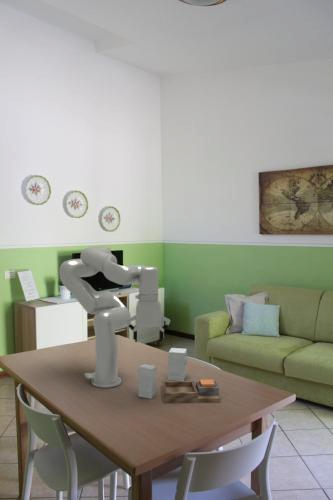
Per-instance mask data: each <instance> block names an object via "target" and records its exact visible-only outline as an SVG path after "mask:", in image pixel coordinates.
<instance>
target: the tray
mask: <svg viewBox="0 0 333 500" xmlns="http://www.w3.org/2000/svg"><path fill="white" fill-rule="evenodd" d="M213 382H214V384H215V387H201V386H200V380H195V381H194V380H184V381H174V380H165V381H164V380H162V382H161V383H162V385H160V390H161V397H162V403H163V404H180V403H181V404H182V403H185V404H187V403H189V404H191V403H193V404H194V403H195V404H196V403H197V404H199V403H200V404H201V403H221V397H220V387H219V385H218V384H217V382H216V380H213Z"/></svg>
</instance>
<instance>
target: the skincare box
mask: <svg viewBox="0 0 333 500" xmlns="http://www.w3.org/2000/svg"><path fill="white" fill-rule="evenodd" d="M137 381H138V389H137V390H138V393H137V394H138V397H140V398H144V399H151V400H152V399H154V398H155V397H156V396H157V366H156V365H150V364H145V363H144V364H142V365H140V366H138V379H137Z"/></svg>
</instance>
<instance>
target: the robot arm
mask: <svg viewBox="0 0 333 500" xmlns="http://www.w3.org/2000/svg"><path fill="white" fill-rule="evenodd" d="M99 272H101V273H102V274H103V275H104V277H105V278H106V279H107V280H108V281H110V282H113V283H115V284H117V285H122V286H127V285H128V286H129V285H132V284H133V285H134V284H136V285H137V284H138V294H135V299H138V300H137V302H136V307H135V315H134V316H132V315H131V313H130V311H129V309H128V307H126V305H125V304H124V303H123V302H122V301H121V299H119V297H118V296H117V295H116V294H115V292H114V293H113V292H112V291H110V290H100V291H97V290H96V289H94V288H93V287H92V285H91V284H90V283H88V282H87V281H86V280H84V279H83V278H87V277H88V278H89V277H92V276H95V275H96V274H97V273H99ZM59 278H60V281H61V283H62V284H63V286H64V287H65V288H66V290H67V291H68V292H70V294H71V295H73V296H74V298H75V299H76V300H77V302H78V303H79V305H81V307H82V308H83V309H84V310H85V312H86V313H87V314H90V315H94V317H93V318H92V319H93V321H92V323H93V329H94V337H95V344H94V345H95V367H94V368H95V370H94V371H93V372H85V373H84V378H86V380H91V384H92V385H93V386H94V387H97V388H101V389H102V388H103V389H106V388H113V387H114V388H115V387H117V386H119V385H121V383H122V378H121V377H120V376H118V375H119V374H118V373H119V368H118V367H119V363H118V362H119V340H118V337H117V335H116V333H115V331H118V330H121V329H125V328H127V327H128V328H129V329H130V330H132V332H133V336H132V337H133V340H134V342H135V343H137V342H138V329H140V328H141V329H143V328H144V329H145V328H146V329H147V328H148V329H152V328H155V329H156V328H158V329H159V339H158V340H159V342H160V343H161V342H162V341H163V340H164V331H165V330H166V329H167V328H168V327H169V325H170V324H171V319H170V318H168V317H167V316H166V317H165V316H164V315H162V305H161V301H160V300H159V269H158V267H157V266H150V265H149V266H146V265H144V264H130V265H128V264H127V265H120V264H118V259H117V257H116V255H114V254H112V252H111V250H110V249H109V248H108V247H106V246H92V247H91V246H90V247H86V248H84V249H83V250H82V251H81V252H80V258H73V259H69V260H65V261H63V262H62V263H61V264H60V266H59ZM131 316H132V317H131ZM133 321H135V322H134V325H133V324H132V322H133ZM162 321H164V322H165V324H163V326H162Z"/></svg>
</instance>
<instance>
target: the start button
mask: <svg viewBox="0 0 333 500" xmlns="http://www.w3.org/2000/svg"><path fill="white" fill-rule="evenodd" d="M199 381H200V386H201V387H215V384H214V382H213V381H214V380H213V379H199Z"/></svg>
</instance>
